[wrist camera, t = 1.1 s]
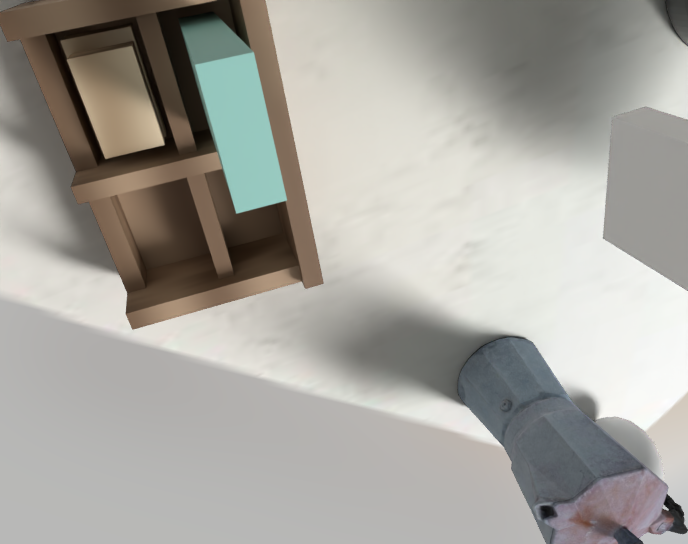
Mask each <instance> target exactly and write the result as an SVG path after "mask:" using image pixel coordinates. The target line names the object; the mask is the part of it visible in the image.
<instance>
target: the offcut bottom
mask: <svg viewBox="0 0 688 544" xmlns="http://www.w3.org/2000/svg"><path fill="white" fill-rule="evenodd" d="M130 41H133V42H134V45H135V48H136V51H137V54H138V57H139V60H140V63H141V66H142V69H143V72H144V75H145V78H146V82H147V85H148V88H149V91H150V94H151V97H152V100H153V103H154V106H155V109H156V112H157V115H158V118H159V121H160V124H161V127H162V131H163V134H164V137H166V127H165V124H164V121H163V118H162V115H161V111H160V108H159V105H158V102H157V99H156V96H155V93H154V90H153V87H152V84H151V80H150V77H149V74H148V71H147V68H146V65H145V62H144V59H143V56H142V53H141V49H140V46H139V43H138V40H137V37H136V34H135V31H134V28H133V25H132V23H128V24H123V25H118V26H113V27H108V28H103V29H98V30H93V31H88V32H83V33H78V34H73V35H68V36H65V37H64V38H63V39H61V40H60V42H61V44H62V47H63V49H64V52H65V54H66V57H67V58H68V57H69V56H70V55H71V54H72V53H77V52H82V51H87V50H91V49H96V48H101V47H106V46H111V45H116V44H121V43H126V42H130Z"/></svg>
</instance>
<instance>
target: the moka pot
mask: <svg viewBox="0 0 688 544" xmlns="http://www.w3.org/2000/svg"><path fill="white" fill-rule="evenodd" d="M458 395H459V396H460V398H461V399H462V401H463V402H464V403H465V404H466V405H467V407H468V408H469V409H470V410H471V411H472V412H473V413H474V415H475V416H476V417H477V418H478V419H479V420H480V421H481V422H482V423H483V424H484V425H485V427H486V428H487V429H488V430H489V431H490V432H491V433H492V434H493V436H494V437H495V438H496V439H497V440H498V441H499V442H500V443H501V444H502V445H503V447H504V448H505V450H506V452H507V454H508V456H509V457H510V460H511V461H512V467H511V469H512V471H513V473H514V476H515V478H516V480H517V482H518V484H519V486H520V489H521V491H522V493H523V495H524V497H525V499H526V501H527V503H528V505H529V507H530V509H531V511H532V513H533V515H534V518H535V520H536V522H537V524H538V527H539V529H540V531H541V533H542V535H543V538H544V539H545V542H546V544H643V542H642V541H641V540H640V539H639V538H640V537H641V536H643V535H644V534H645V533H647V532H650V533H652V534H663V533H664V532H665V531H671V532H675V533H679V534H685V533H686V532H687V531H688V529H687V528H686V526H685V525H684V517H683V516H684V512H683V511H682V509H681V506H680V505H678V504H676V503H675V502H674V501H673V499H672V498H671V497H670V496H668V494H667V491H668V486H667V484H666V483H665V482H664V481H662V480H661V479H660V478H659V477H658V476H657V475H656V474H655V473H653V472H652V471H651V470H650V469H649V468H648V467H646V466H645V465H644V464H643V463H642V462H641V461H639V460H638V459H637V458H636V457H635V456H634V455H632V454H631V453H630V452H629V451H628V450H627V449H625V448H624V447H623V446H622V445H621V444H620V443H619V442H617V441H616V440H615V439H614V438H613V437H612V436H611V435H609V434H608V433H607V432H606V431H605V430H604V429H602V428H601V427H600V426H599V425H598V424H597V423H595V422H594V421H593V420H592V419H590V418H589V417H588V416H587V415H585V414H584V413H583V412H582V411H581V410H580V409H579V408H578V407H577V406H576V405H575V404H574V403H573V402H572V401H571V399H570V398H569V396H568V395H567V393H566V392H565V390H564V389H563V387H562V386H561V384H560V383H559V381H558V380H557V378H556V377H555V375H554V374H553V372H552V371H551V369H550V368H549V366H548V365H547V363H546V362H545V360H544V358H543V357H542V356H541V354H540V353H539V351H538V350H537V348H536V347H535V345H534V344H533V342H531V341H529V340H526V339H521V338H520V339H519V338H513V337H509V338H504V339H498V340H496V341H493V342H490V343H488V344H486V345H484V346H483V347H481V348H480V349H479V350H477V351H476V352H475V353H474V354H473V355H472V356H471V357H470V358H469V359H468V361H467V362H466V364H465V365H464V367H463V368H462V370H461V373H460V375H459V380H458ZM663 504H664V505H665V506H666V507H667V508H668V509H669V511H667V510H664V509H663V508H662V507H663Z"/></svg>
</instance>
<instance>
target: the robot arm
mask: <svg viewBox="0 0 688 544" xmlns="http://www.w3.org/2000/svg"><path fill="white" fill-rule="evenodd" d="M666 6H667V10H668V14H669V17H670V20H671V22H672V25H673V27H674V29H675V31H676V32H677V34H678V35H679V37H680V38H681V39H682V40H683V41H684V42H685V43H686V44H687V45H688V0H666ZM603 239H605V240H606V241H608V242H610V243H611V244H613V245H614V246H616V247H618V248H619V249H621V250H623V251H624V252H626V253H627V254H629V255H631V256H632V257H634V258H635V259H637V260H639V261H640V262H642V263H644V264H645V265H647V266H648V267H650V268H652V269H653V270H655V271H656V272H658V273H660V274H661V275H663V276H664V277H666V278H668V279H669V280H671V281H673V282H674V283H676V284H677V285H679V286H681V287H682V288H684V289H685V290H687V291H688V120H687V119H683V118H680V117H677V116H674V115H671V114H667V113H664V112H661V111H658V110H654V109H651V108H648V107H643V108H640V109H636V110H633V111H630V112H626V113H623V114H620V115H616V116H613V117H612V126H611V139H610V152H609V166H608V179H607V192H606V205H605V218H604V231H603Z"/></svg>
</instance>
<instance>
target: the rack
mask: <svg viewBox="0 0 688 544" xmlns="http://www.w3.org/2000/svg"><path fill="white" fill-rule="evenodd" d="M208 12H214V13H215V14H216V15H217V16H218V17H219V18H220V19H221V20H222V21H223V22H224V23H225V24H226V25H227V26H228V27H229V28H230V29H231V30H232V31H233V32H234V33H235V34H236V35H237V36H238V37H239V38H240V39H241V40H242V41H243V42H244V43H245V44H246V45H247V46H248V47H249V48H250V49H251V50H252V51H253V52H254V55H255V60H256V64H257V69H258V73H259V78H260V82H261V86H262V91H263V95H264V100H265V104H266V109H267V113H268V118H269V122H270V126H271V131H272V135H273V140H274V144H275V149H276V153H277V158H278V162H279V166H280V171H281V175H282V180H283V184H284V189H285V193H286V198H287V201H283V202H279V203H275V204H272V205H268V206H264V207H260V208H256V209H252V210H249V211H245V212H241V213H237V214H236V211H235V208H234V205H233V201H232V198H231V195H230V192H229V189H228V185H227V182H226V179H225V176H224V173H223V170H222V166H221V163H220V160H219V157H218V154H217V150H216V147H215V144H214V141H213V138H212V135H211V131H210V128H209V125H208V122H207V119H206V115H205V112H204V109H203V105H202V101H201V98H200V94H199V91H198V87H197V84H196V80H195V77H194V73H193V70H192V66H191V63H190V59H189V55H188V52H187V48H186V45H185V41H184V38H183V34H182V31H181V27H180V24H179V20H178V18H183V17H188V16H193V15H198V14H203V13H208ZM128 23H132V25H133V28H134V31H135V34H136V37H137V40H138V43H139V46H140V49H141V53H142V56H143V59H144V62H145V65H146V68H147V71H148V74H149V77H150V80H151V84H152V87H153V90H154V93H155V96H156V99H157V102H158V105H159V108H160V111H161V115H162V118H163V121H164V124H165V127H166V137H164V144H165V145H162V146H158V147H154V148H150V149H145V150H141V151H137V152H133V153H129V154H124V155H120V156H116V157H112V158H107V159H105V157H104V154H103V152H102V149H101V146H100V144H99V141H98V139H97V136H96V134H95V131H94V128H93V126H92V123H91V121H90V118H89V116H88V113H87V111H86V108H85V105H84V103H83V100H82V98H81V95H80V93H79V90H78V87H77V85H76V82H75V80H74V77H73V75H72V72H71V69H70V67H69V64H68V62H67V57H66V54H65V52H64V49H63V47H62V44H61V42H60V40H61V39H63V38H64V37H65V36H68V35H73V34H78V33H83V32H88V31H93V30H98V29H103V28H108V27H113V26H118V25H123V24H128ZM0 26H1V28H2V30H3V33H4V35H5V37H6V39H7V42H9V41H14V40H19V39H20V41H21V43H22V45H23V48H24V50H25V52H26V55H27V57H28V59H29V62H30V64H31V67H32V69H33V71H34V74H35V76H36V78H37V81H38V83H39V85H40V88H41V90H42V93H43V95H44V97H45V100H46V102H47V104H48V107H49V109H50V111H51V114H52V116H53V119H54V121H55V123H56V126H57V128H58V130H59V133H60V135H61V137H62V140H63V142H64V145H65V147H66V149H67V152H68V154H69V156H70V159H71V161H72V163H73V166H74V168H75V171H76V174H75V177H74V179H73V182H72V185H71V189H72V191H73V194H74V196H75V198H76V201H77V203H78V204H82V203H86V202H89V204H90V206H91V208H92V211H93V213H94V215H95V218H96V220H97V223H98V225H99V227H100V230H101V232H102V234H103V237H104V239H105V241H106V244H107V246H108V249H109V251H110V253H111V256H112V258H113V260H114V263H115V265H116V267H117V270H118V272H119V275H120V277H121V279H122V282H123V284H124V286H125V289H126V291H127V304H126V316H127V318H128V320H129V323H130V325H131V327H132V329H137V328H140V327H144V326H147V325H151V324H154V323H158V322H161V321H165V320H168V319H172V318H175V317H179V316H182V315H186V314H189V313H193V312H196V311H200V310H203V309H207V308H210V307H214V306H217V305H221V304H224V303H228V302H231V301H235V300H238V299H242V298H245V297H249V296H252V295H256V294H259V293H263V292H266V291H270V290H273V289H277V288H280V287H284V286H287V285H291V284H294V283H298V282H301V281H302V282H303V285H304V287H305V289H307V288H310V287H314V286H317V285H321V284H324V283H323V278H322V273H321V268H320V264H319V259H318V254H317V249H316V244H315V239H314V234H313V230H312V225H311V220H310V215H309V210H308V205H307V200H306V196H305V191H304V186H303V181H302V176H301V171H300V166H299V162H298V157H297V152H296V147H295V142H294V137H293V132H292V128H291V123H290V118H289V113H288V108H287V103H286V98H285V94H284V89H283V84H282V79H281V74H280V69H279V64H278V60H277V55H276V50H275V45H274V40H273V35H272V30H271V26H270V21H269V16H268V11H267V6H266V1H265V0H38V1H33V2H27V3H23V4H20V5H17V6H15V7H12V8H9V9H7V10H4V11H2V12H0Z"/></svg>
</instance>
